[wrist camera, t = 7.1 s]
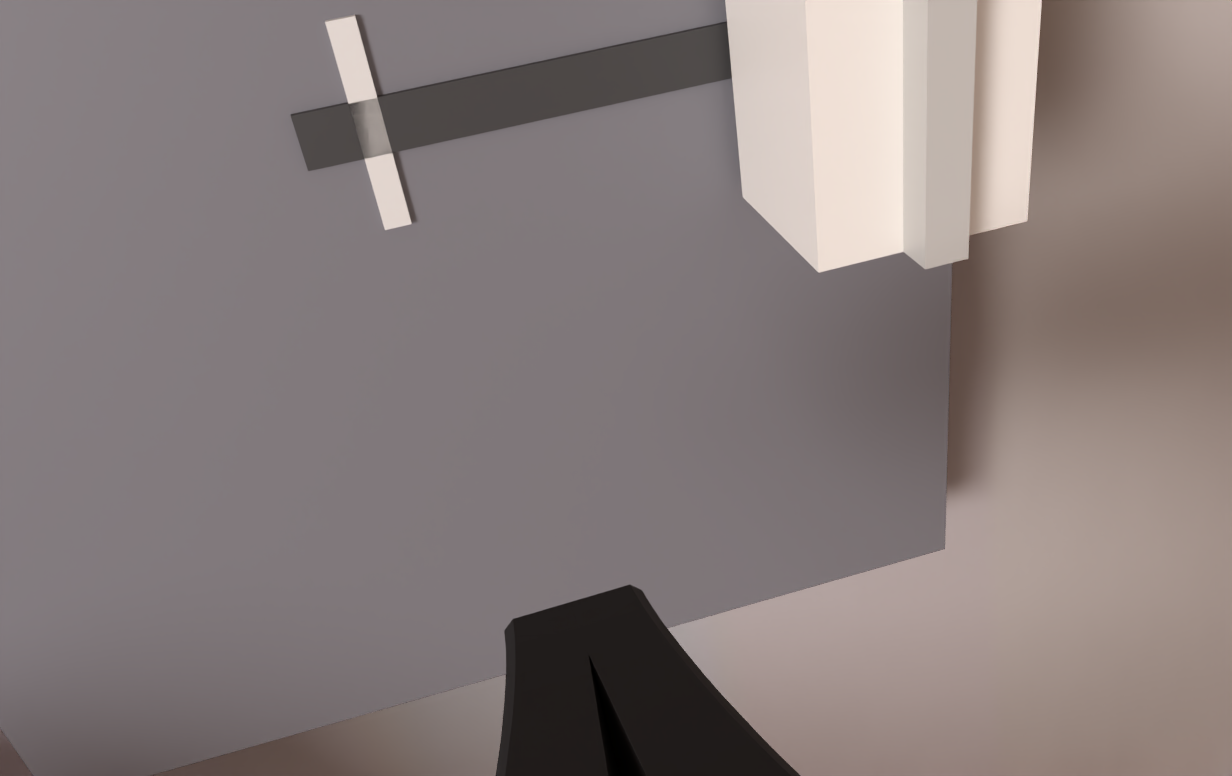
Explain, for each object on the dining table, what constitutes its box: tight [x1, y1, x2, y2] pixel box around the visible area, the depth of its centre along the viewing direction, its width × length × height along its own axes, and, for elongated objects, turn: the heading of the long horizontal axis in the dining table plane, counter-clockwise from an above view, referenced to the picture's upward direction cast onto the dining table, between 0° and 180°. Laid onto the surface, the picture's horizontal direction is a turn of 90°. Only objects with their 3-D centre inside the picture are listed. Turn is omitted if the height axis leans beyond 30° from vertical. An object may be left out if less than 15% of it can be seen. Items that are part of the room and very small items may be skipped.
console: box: [0, 0, 952, 776], centre depth 17 cm, size 18×16×2 cm
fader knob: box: [725, 0, 1042, 273], centre depth 14 cm, size 3×4×4 cm
